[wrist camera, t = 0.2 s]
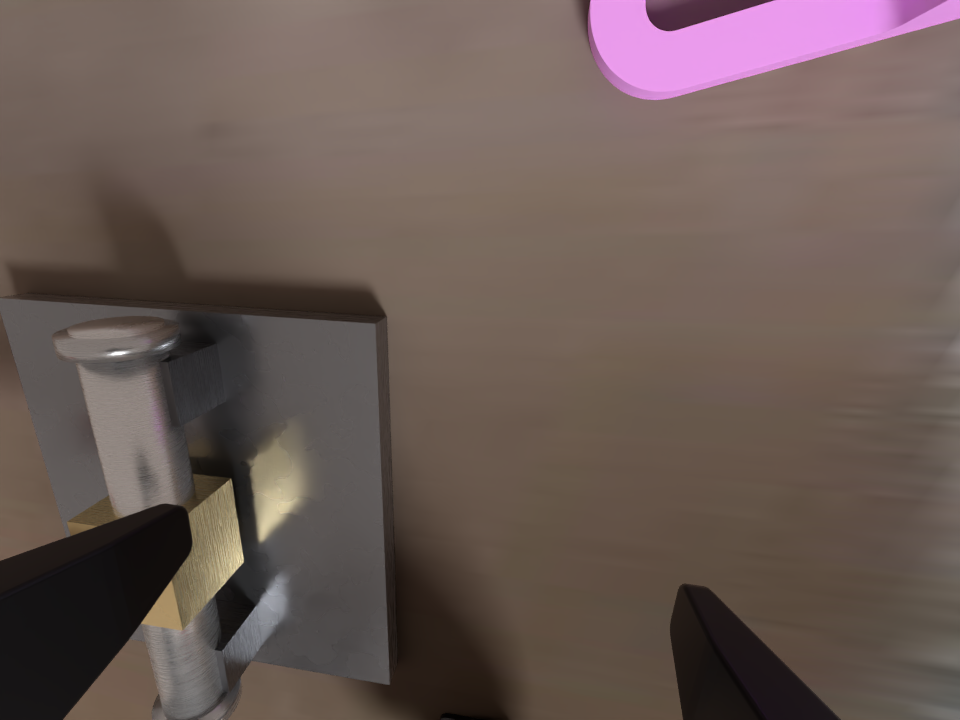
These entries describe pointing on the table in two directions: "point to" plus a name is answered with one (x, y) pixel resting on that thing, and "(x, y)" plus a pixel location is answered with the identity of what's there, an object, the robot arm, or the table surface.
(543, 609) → the table surface
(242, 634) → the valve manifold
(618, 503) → the table surface
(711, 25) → the bracket
